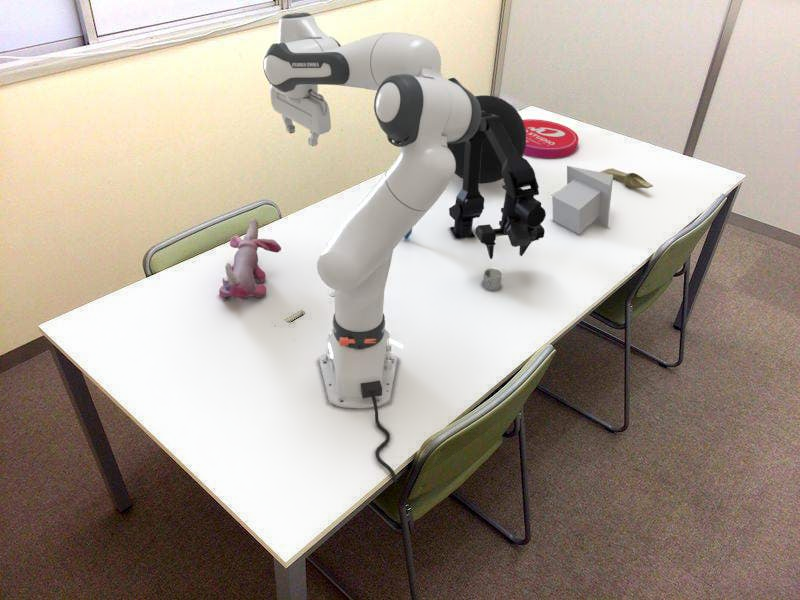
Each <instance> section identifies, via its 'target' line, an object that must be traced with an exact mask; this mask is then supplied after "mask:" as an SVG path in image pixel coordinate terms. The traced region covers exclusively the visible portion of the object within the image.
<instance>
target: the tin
mask: <svg viewBox="0 0 800 600" xmlns="http://www.w3.org/2000/svg"><path fill="white" fill-rule="evenodd" d="M502 276H503V273H502V272H501V271H500V269H497V268H488V269H485V271H484V274H483V279H482V287H483V288H484V289H485V290H487V291H491V292H495V291H498V290H500V287H501V282H502Z"/></svg>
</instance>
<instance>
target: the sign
mask: <svg viewBox="0 0 800 600" xmlns="http://www.w3.org/2000/svg"><path fill="white" fill-rule="evenodd" d="M522 120H523V123H524V126H525V130H526V148H525V151H524V154H523V156H527V157H532V158H536V159H561V158H565V157H569V156H571V155H572V154H574V153H575V152H576V151H577V148H578V143H579V136H578V134H577V132H575V131H574V130H573V129H571V127H568V126H567V125H564V124H561V123H558V122H555V121H550V120H544V119H533V118H532V119H531V118H530V119H529V118H528V119H522Z"/></svg>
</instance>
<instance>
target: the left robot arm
mask: <svg viewBox="0 0 800 600" xmlns="http://www.w3.org/2000/svg"><path fill="white" fill-rule="evenodd" d="M262 66H263V67H262V68H263V73H264V75H265V78H266V79H267V81H268V83H269V85H270V87H269V94H270V96H269V97H270V104H271V107H272V109H273V111H275V112H276V113H277V114H280V115H281V116H282V117H281V118H282V120H283V123H284V125H285V130H286V131H285V132H287V133H288V134H290V135H291V134H294V133H295V132H296V126H295V125H294V122H295V123H296V124H298V125H300V126H302V127H304V128H306V129H308V131H309V133H310V137H308V138H307V141H308V145H309V146H311V147H316V146H318V144H319V142H318V141H319V140H318V139H319V137H320V135H324V134H326V133H329V132H330V131H331V129H332V124H331V122H332V121H331V113H330V106H329V104H328V102H327V101H326V99H325V98H324V95H323V94H320V93H318V92H319V85H326V86H339V87H348V88H355V89H364V90H370V91H376V93H375V96H374V101H373V110H374V115H375V117H376V120H377V122H378V125H379V127H380V128H381V130H382V131H383V132H384V134H386V138H387V141H388V142H389V143H390V144H391V145H392V146H394V147H397V148H400V152H399V155H398V157H397V158H395V161H393V162H392V164H391V165H390V167H389V168H388V169H387V170H386V171H385V172H384V174H383V175H382V176H381V178H380V179H379V180H378V181H377V182H376V184H375V185H374V186H373V188H371V190H370V191H369V193H368V194H367V195H366V196H365V198H363V200H362V201H361V202H360V203H359V204H358V205H357V207H356V208H355V209H354V210H353V211H352V212H351V214H350V215H349V216H348V217H347V219H346V220H345V221H344V222H343V223H342V225H341V226H340V227H339V228H338V229H337V231H336V232H335V233H334V234H333V236H331V237H330V239H329V240H328V241H327V242H326V244H325V246H324V247H323V249H322V251H321V253H320V254H319V257H318V259H317V261H316V262H317V263H316V270H317V273H318V276H319V277H320V279H321V281H322V282H323V283H324V284H325V285H326V286H327V287H328V288H330V289H332V290H333V291H334V313H333V317H332V329H331V330H330V331H329V332H328V333H327V334H326V335H327V339H326V340H327V345H326V346H327V350H326V351H327V353H325V354H323V355H321V356H320V357H319V366H320V370H321V374H322V378H323V382H324V387H325V390H326V391H325V392H326V394H327V400H328V402H329V404H332V405H334V406H337V407H340V408H345V409H371V408H373V410H374V422H375V424H376V427H377V428H378V429H379V430H380V431H381V432H383V433H384V434H385V436H386V437H385V440H384V441H383V442H382V443H381V444H380V445H379V446H378V447H376V450H375V459H376V461H377V462H378V463H379V464H380V465H381V466H383V467H384V468H385V469H386V470H387V471H388V472H389V473H390V475H391V478H392V480H393V483H398V478H397V475H396V472H395V471H394V469H393V468H392V467H391V466H390V464H388V463H386V461H384V460H383V459H382V458H381V455H380V451H382V449H383V448H384V447H386V445H388V443H389V442H390V439H391V434H390V432H389V431H388V430H387V429H386V428H384V427H383V425H382V424H381V423H380V419H379V408H378V407H381V406H383V405H387V404H388V403H389V402H390V401H391V396H392V391H393V386H394V382H395V381H394V380H395V376H396V370H397V364H398V357H397V356H396V355H395V354H393V353H391V352H392V345H394V346H396V347H399V348H400V349H403V347H404V345H403V344H401V343H399V342H397V341H396V340H393V339H392V338H391V334H390V332H389V331H387V330H386V318H385V313H384V303H385V290H386V285H387V280H388V277H389V272H390V268H391V264H392V259H393V253H394V250H395V248H396V247H397V246H398V245H399V244H400V242H401V241H402V240H404V239H405V235H406V234H407V233H408V232H409V231H410V230H411V229H412V230H413V228H414V227H415V226H416V224H417V223H418V222H419V221H421V219H422V218H423V217H424V216H425V214H427V213H428V211H429V210H430V209H431V208H432V207H433V206H434V205H435V204H436V202H437V201H438V200H439V198H440V197H441V196H442V195H443V194H444V192H445V190H447V187H448V186H449V184H450V183H451V180H452V179H453V177H454V175H455V174H454V173H455V170H456V162H455V158H454V156H453V154H452V152H451V151H450V149H449V148H448V147H447V143H448V144H456V143H461V142H465V141H467V140H469V139H470V138H472V137H473V136H474V134H475V133H476V132H477V130H478V128H479V125H480V122H481V107H480V104H479V101H478V100H477V98H476V97H475V96H476V95H475V94H473V93H472V92H471V91H470V90H468V89H467V88H466V87H465V86H463V85H462V84H461V82H460V81H459V80H458V79H457V78H455V77H451V78H446V77H444V76H443V73H442V71H441V70H442V69H441V68H442V57H441V54H440V51H439V49H438V47H437V45H436V44H435V43H434V42H433V41H432V40H430V39H429V38H427V37H424V36H420V35H418V34H414V33H413V34H412V33H408V32H407V33H406V32H395V31H394V32H393V31H392V32H391V31H390V32H389V31H388V32H380V33H376V34H373V35H369V36H366V37H363V38H360V39H358V40H357V39H356V40H355V41H353V42H349V43H346V44H343V45H341V44H340V43H339V41H338V40H336V39H335V38H334V37H332V36H328V34H326V33H325V32H324V31H323V30H322V29H321V28H320V27H319V26H318V24H317V23H316V20H315V17H314V15H312V14H311V13H309V12H294V13H288V14H284V15H282V16H281V17H280V18H279V21H278V29H277V42H276V43H272V44H271V45H270V47H269V48H268V49H267V51H266V52H265V55H264V58H263V62H262ZM390 344H392V345H390Z"/></svg>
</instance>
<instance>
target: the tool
mask: <svg viewBox="0 0 800 600" xmlns="http://www.w3.org/2000/svg"><path fill="white" fill-rule="evenodd" d="M601 173H606V174H611V175H613V180H614V179H615V180H617V181H620V182H623V183H625V184H626V187H628V188H630V189H650V188H653V187H654V185H653V184H652V183H650V182H649V181H647V180H646V179H645V178H643V177H642V176H641V175H639V174H638V173H635V172H629V173H626V172H624V171H621V170H618V169H616V168H612V167H611V168H607V169H604V170H602V171H601Z"/></svg>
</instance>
